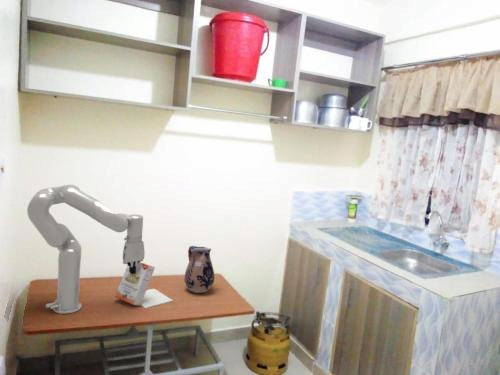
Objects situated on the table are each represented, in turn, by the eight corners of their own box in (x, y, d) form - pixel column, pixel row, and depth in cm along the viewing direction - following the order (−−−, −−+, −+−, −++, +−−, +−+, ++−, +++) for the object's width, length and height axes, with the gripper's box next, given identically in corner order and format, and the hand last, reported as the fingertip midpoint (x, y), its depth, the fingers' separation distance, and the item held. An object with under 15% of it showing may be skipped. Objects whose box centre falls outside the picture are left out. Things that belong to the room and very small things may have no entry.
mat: (145, 308, 187) (145, 307, 187) (127, 295, 201) (127, 294, 200) (172, 301, 199) (172, 300, 199) (154, 289, 212) (154, 288, 212)
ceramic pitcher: (198, 299, 206) (202, 255, 203) (173, 287, 218) (176, 246, 215) (219, 291, 220) (223, 250, 217) (194, 280, 232) (197, 242, 229)
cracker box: (113, 297, 191) (129, 258, 197) (121, 298, 196) (136, 260, 202) (132, 305, 185) (148, 264, 190) (140, 306, 190) (155, 267, 195)
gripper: (123, 242, 180) (122, 278, 182) (151, 238, 190) (149, 272, 193) (116, 238, 185) (115, 273, 187) (143, 235, 196) (141, 268, 198)
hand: (132, 273), depth 190 cm, fingers closed
